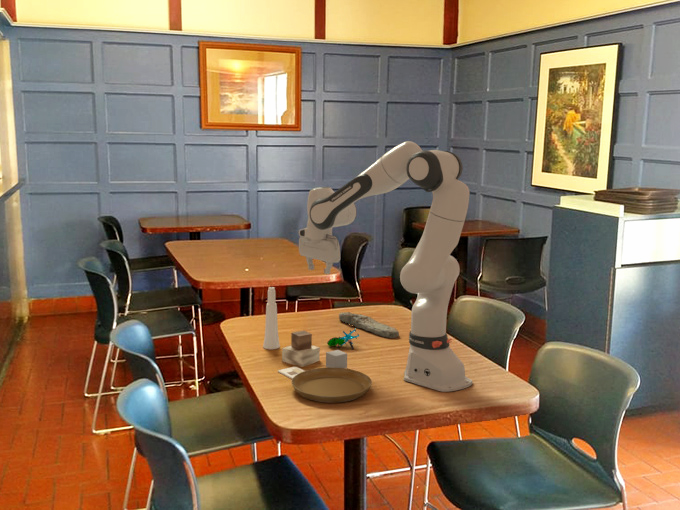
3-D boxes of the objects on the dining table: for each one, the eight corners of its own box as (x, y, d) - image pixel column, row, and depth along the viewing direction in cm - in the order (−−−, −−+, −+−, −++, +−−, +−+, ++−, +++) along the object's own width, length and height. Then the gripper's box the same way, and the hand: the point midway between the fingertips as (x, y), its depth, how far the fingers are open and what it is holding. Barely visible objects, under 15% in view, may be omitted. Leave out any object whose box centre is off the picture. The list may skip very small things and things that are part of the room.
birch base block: (319, 361, 231) (319, 347, 230) (302, 368, 224) (302, 353, 223) (299, 356, 237) (299, 342, 236) (282, 362, 229) (282, 348, 229)
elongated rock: (385, 344, 257) (404, 341, 263) (387, 331, 256) (406, 328, 262) (331, 319, 284) (350, 317, 290) (332, 307, 283) (351, 305, 289)
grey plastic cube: (347, 368, 224) (347, 353, 223) (334, 370, 221) (335, 356, 220) (337, 364, 228) (338, 349, 227) (325, 366, 225) (326, 352, 224)
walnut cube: (311, 348, 229) (311, 334, 228) (298, 350, 226) (298, 336, 226) (303, 344, 233) (304, 330, 232) (291, 346, 230) (291, 332, 230)
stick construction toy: (357, 337, 252) (356, 324, 246) (364, 351, 248) (363, 339, 242) (327, 347, 250) (325, 335, 244) (333, 362, 246) (331, 350, 240)
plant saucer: (321, 413, 187) (321, 401, 187) (276, 387, 206) (276, 376, 206) (387, 395, 201) (388, 384, 201) (340, 372, 220) (340, 362, 220)
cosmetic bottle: (271, 350, 241) (272, 290, 238) (259, 347, 245) (259, 287, 241) (283, 346, 246) (283, 287, 242) (271, 343, 249) (271, 285, 246)
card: (313, 376, 215) (313, 374, 215) (295, 380, 211) (295, 378, 211) (295, 367, 223) (295, 366, 223) (277, 371, 219) (277, 370, 219)
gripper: (345, 235, 231) (344, 275, 234) (310, 229, 247) (309, 266, 249) (330, 237, 227) (329, 277, 230) (295, 230, 243) (295, 268, 246)
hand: (319, 271), depth 240 cm, fingers open, 8 cm apart
